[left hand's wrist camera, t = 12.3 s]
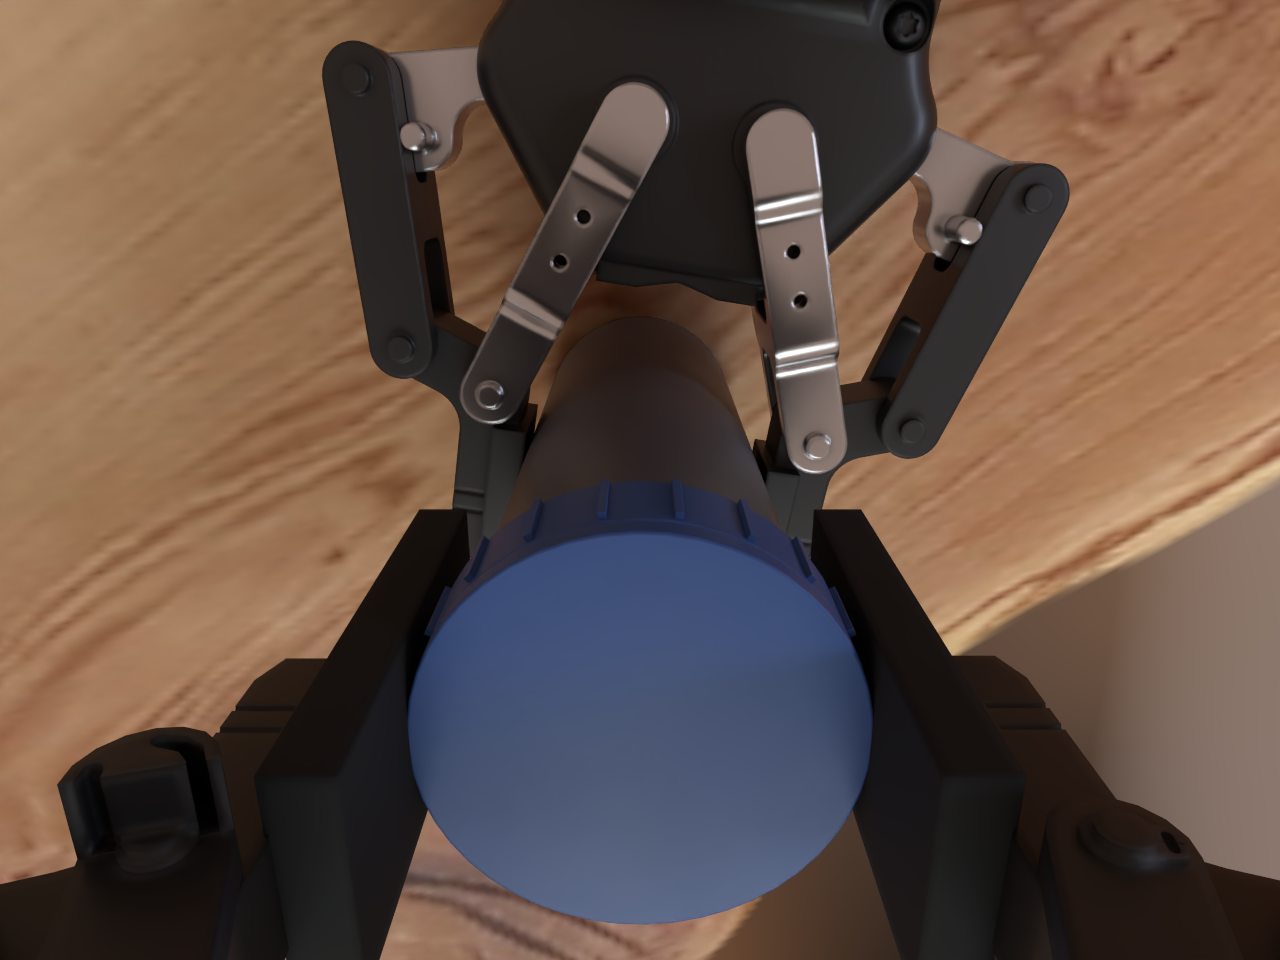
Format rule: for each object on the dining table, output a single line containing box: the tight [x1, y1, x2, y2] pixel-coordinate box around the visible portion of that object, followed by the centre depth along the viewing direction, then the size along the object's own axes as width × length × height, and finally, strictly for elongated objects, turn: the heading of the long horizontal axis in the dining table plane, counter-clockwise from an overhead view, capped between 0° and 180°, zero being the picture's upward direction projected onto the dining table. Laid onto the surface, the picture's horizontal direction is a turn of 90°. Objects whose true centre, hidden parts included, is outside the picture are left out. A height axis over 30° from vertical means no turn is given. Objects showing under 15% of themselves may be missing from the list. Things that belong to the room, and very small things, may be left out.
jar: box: [498, 317, 782, 530], centre depth 18 cm, size 5×5×15 cm
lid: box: [407, 479, 873, 924], centre depth 11 cm, size 6×6×2 cm
